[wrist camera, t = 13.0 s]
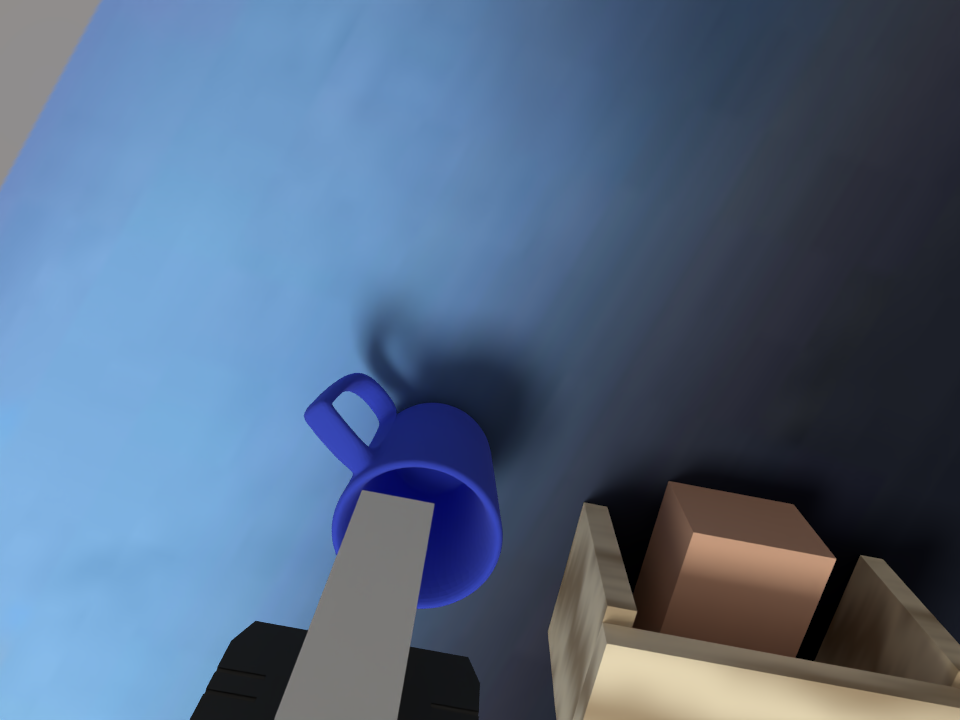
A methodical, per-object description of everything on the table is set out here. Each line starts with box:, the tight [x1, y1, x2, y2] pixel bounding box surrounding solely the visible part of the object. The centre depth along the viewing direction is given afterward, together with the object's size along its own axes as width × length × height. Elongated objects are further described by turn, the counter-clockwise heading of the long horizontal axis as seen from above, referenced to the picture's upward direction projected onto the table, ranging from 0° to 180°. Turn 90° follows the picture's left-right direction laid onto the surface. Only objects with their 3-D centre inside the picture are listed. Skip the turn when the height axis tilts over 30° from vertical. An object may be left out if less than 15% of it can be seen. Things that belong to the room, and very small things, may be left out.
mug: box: [304, 373, 503, 609], centre depth 38 cm, size 8×12×10 cm
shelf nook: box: [548, 502, 960, 720], centre depth 40 cm, size 11×20×12 cm, turn 79°
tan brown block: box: [632, 481, 836, 658], centre depth 42 cm, size 12×8×6 cm, turn 169°
